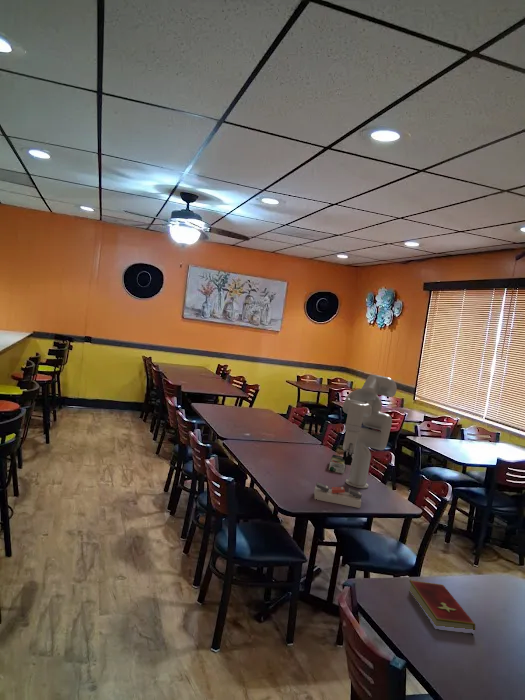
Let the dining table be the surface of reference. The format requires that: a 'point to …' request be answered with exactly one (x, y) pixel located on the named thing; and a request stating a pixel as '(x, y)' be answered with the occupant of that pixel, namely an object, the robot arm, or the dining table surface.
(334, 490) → the red rocker
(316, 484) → the charcoal rocker
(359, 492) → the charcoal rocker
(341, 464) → the juice carton
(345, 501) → the rocker switch panel
